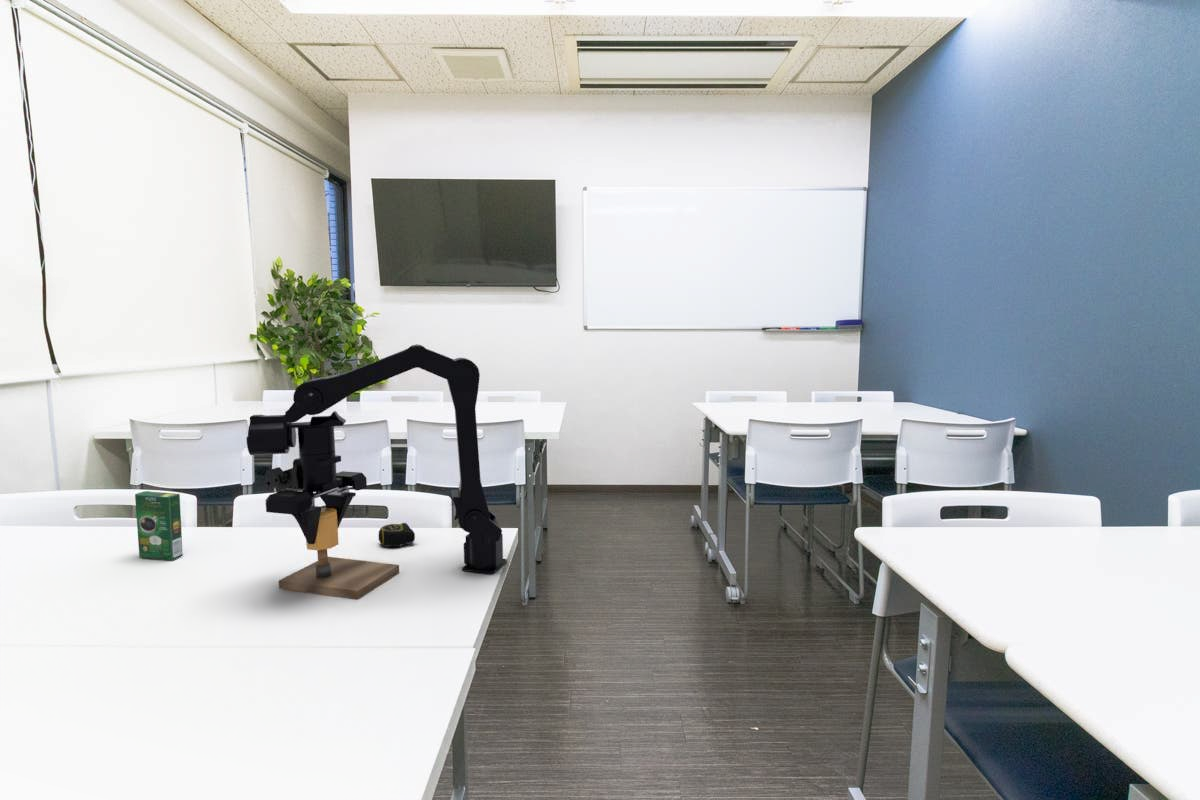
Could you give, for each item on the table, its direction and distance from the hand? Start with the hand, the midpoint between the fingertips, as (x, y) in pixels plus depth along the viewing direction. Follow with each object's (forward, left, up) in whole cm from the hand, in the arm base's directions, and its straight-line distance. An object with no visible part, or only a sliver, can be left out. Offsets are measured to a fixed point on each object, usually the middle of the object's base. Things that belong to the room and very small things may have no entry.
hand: (322, 538), depth 109 cm
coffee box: (+40, -2, -8) cm, 41 cm away
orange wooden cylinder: (0, 0, -1) cm, 1 cm away
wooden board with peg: (-2, -2, -8) cm, 9 cm away
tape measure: (0, -22, -9) cm, 24 cm away
